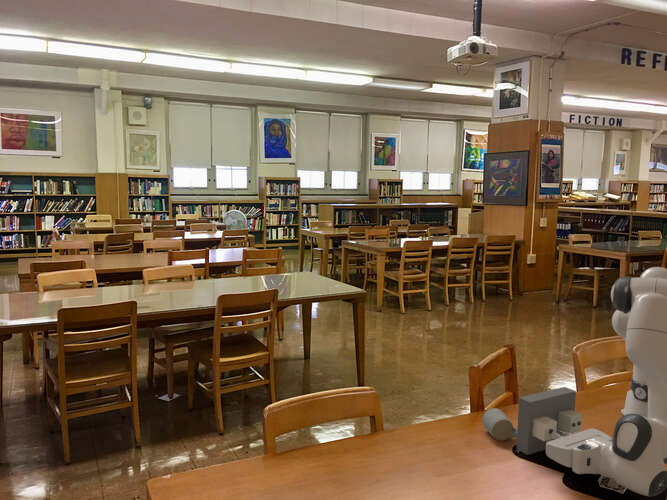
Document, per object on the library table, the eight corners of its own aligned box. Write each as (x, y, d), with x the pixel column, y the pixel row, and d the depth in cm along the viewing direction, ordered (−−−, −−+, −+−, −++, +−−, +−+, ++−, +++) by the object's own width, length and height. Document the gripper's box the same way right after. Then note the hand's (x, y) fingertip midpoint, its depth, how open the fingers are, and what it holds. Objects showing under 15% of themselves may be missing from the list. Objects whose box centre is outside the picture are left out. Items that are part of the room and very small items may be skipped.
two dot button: (566, 423, 161) (567, 408, 160) (582, 430, 156) (583, 414, 156) (555, 427, 159) (556, 411, 158) (570, 434, 154) (571, 417, 153)
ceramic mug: (491, 442, 160) (493, 418, 159) (481, 430, 168) (482, 407, 167) (524, 441, 161) (526, 417, 160) (512, 430, 169) (513, 407, 168)
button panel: (561, 435, 165) (564, 386, 163) (572, 440, 162) (575, 391, 160) (516, 449, 156) (519, 397, 154) (527, 455, 152) (529, 402, 151)
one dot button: (541, 430, 156) (542, 414, 155) (557, 438, 151) (558, 421, 151) (530, 434, 154) (531, 418, 153) (545, 441, 149) (546, 425, 148)
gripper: (624, 435, 141) (579, 416, 153) (574, 452, 132) (530, 430, 144) (623, 457, 142) (578, 436, 154) (573, 475, 132) (529, 451, 144)
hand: (554, 433), depth 149 cm, fingers closed
